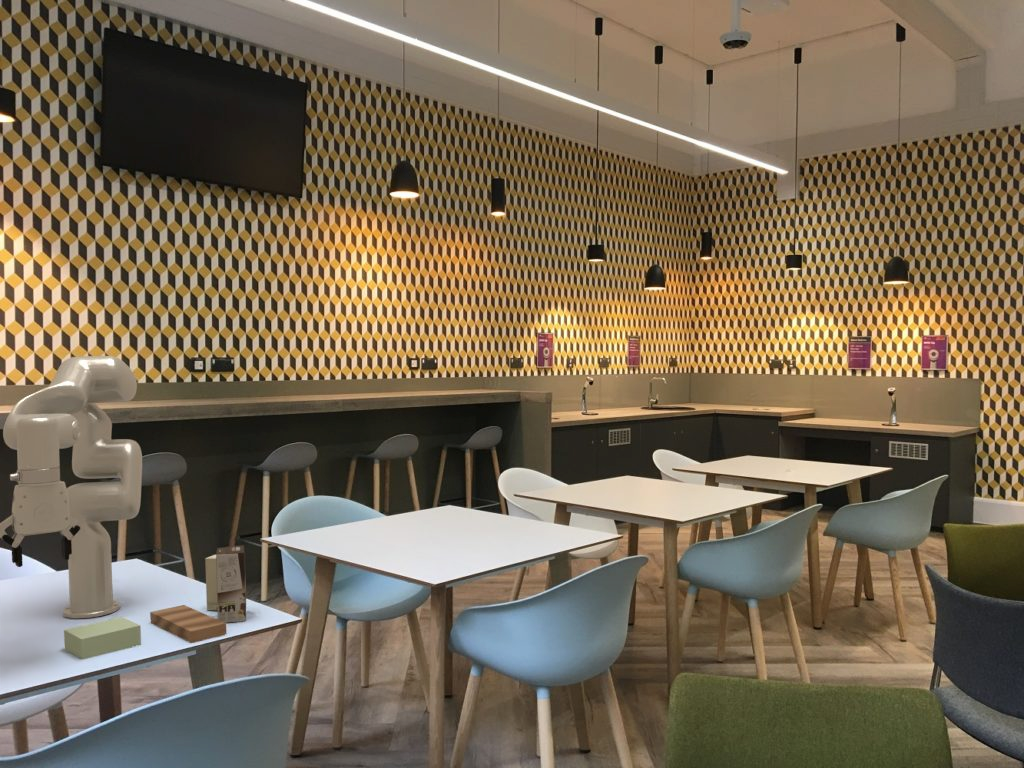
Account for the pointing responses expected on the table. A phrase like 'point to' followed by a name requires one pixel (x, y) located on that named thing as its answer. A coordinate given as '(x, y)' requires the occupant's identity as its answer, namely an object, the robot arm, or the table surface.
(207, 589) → the box
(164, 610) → the board
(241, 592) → the coffee box
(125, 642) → the slab
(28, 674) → the table surface
